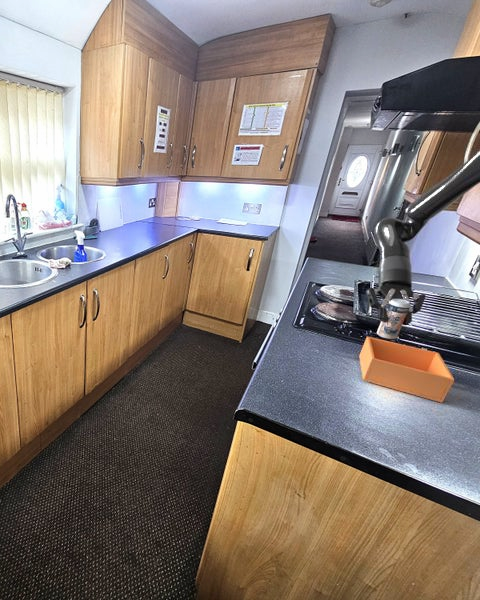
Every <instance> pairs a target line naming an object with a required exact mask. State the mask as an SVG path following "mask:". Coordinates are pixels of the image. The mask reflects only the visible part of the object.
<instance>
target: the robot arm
mask: <svg viewBox="0 0 480 600" xmlns="http://www.w3.org/2000/svg"><path fill="white" fill-rule="evenodd" d="M479 184H480V148H479V149H478V150H477V151H476V152H475V153H474V154H473V155H472V156H470V158H469V159H468V160H466V161H465V163H463V164H462V165H460V167H458V168H457V169H456V170H455V171H453V172H452V173H450V174H449V175H448V176H447V177H445V178H443V179H442V180H441V181H439V182H438V183H436V184H435V185H433V186H432V187H431V188H428V190H426V191H425V192H423V194H422V195H420V196H418V198H416V199H415V200H414V201H413V202H411V203H410V204H408V205H407V207H406V208H405V209H404V213H405V215H406V216H407V217H408V218H409V219H408V220H407V221H404V220H401V219H398V218H395V217H385V218H382V219H381V220H379V221H378V222H377V224H376V225H375V227H374V229H373V230H374V231H373V236H374V240H375V243H376V245H377V248H378V250H379V265H378V271H377V274H378V283H377V284H378V287H377V288H374V287H369V288H368V289H367V290H366V291H365V295H366V298H367V301H368V304H369V307H370V308H372V309H376V311H377V319H378V320H379V322H380V323H381V322H384V321H385V320H386V308H387V306H388V303H389V301H391V300H392V299H402V300H406V301H408V302H409V303H410V308H409V311H408V313H407V315H406V317H405V320H404V322H403V324H402V326H408V325H410V324H411V323H412V322H413V315H414V314H417V313H418V312H420V311H421V310H422V308H423V305H424V302H425V300H426V297H427V296H426V294H424V293H421V294H418V293H414V290H413V289H412V287H413V285H412V284H413V282H412V279H413V278H412V276H413V275H412V262H411V249H410V246H409V245H408V244H407V243H409V242H410V241H412V240H413V239H414V238H416V236H418V234H419V233H420V232H421V231H422V229H423V228H424V227H425V226H426V225H427V224H428V223H429V222H430V221H431V219H433V218H434V217H436V216H437V215H439V214H440V213H441V212H443V211H444V210H446V209H447V208H449V207H450V206H451V205H452V204H453V203H455V202H456V201H458V200H459V199H461V198H462V196H464V195H466V194H467V193H468V192H469V191H470V190H472V189H474V187H476V186H478V185H479ZM377 294H378V295H379V296H380V297H381V300H380V302H379V299H378V297H377ZM410 298H412V302H413V305H411V304H412V303H411V300H410Z"/></svg>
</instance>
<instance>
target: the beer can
mask: <svg viewBox="0 0 480 600" xmlns="http://www.w3.org/2000/svg"><path fill="white" fill-rule="evenodd" d="M410 305H411V304H410V303H409V302H408V301H406V300H402V299H392V300H391V301H389V303H388V304H387V306H386V307H385V308H386V320H385V321H384V322H381V321H380V324H379V326H378V328H377V331H376V334H377V335H378V336H379V337H381V338H383V339H385V340H386V339H387V340H396V339H397V338H398V336H399V333H400V331H401V329H402V327H403V322H404V320H405V317H406V315H407V313H408V311H409V308H410Z"/></svg>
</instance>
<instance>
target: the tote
mask: <svg viewBox="0 0 480 600" xmlns="http://www.w3.org/2000/svg"><path fill="white" fill-rule="evenodd" d="M358 357H359V363H360V369H361V375H362V380H363V381H365V382H368V383H372V384H375V385H379V386H382V387H387V388H389V389H393V390H396V391H399V392H404V393H407V394H410V395H413V396H417V397H421V398H424V399H427V400H431V401H434V402H438V403H441V404H443V403H444V400H445V398H446V397H447V395H448V394H449V391H450V390H451V388H452V386H453V384H454V382H455V378H454V377H453V374H452V373H451V371H450V370H449V368H448V366H447V365H446V363H445V361H444V360H443V358H442V356H441V354H440V353H439V352H436V351H432V350H428V349H424V348H419V347H416V346H411V345H406V344H401V343H397V342H393V341H389V340H386V339H385V340H384V339H380V338H376V337H373V336H366V338H365V340H364V343H363V346H362V348H361V351H360V353H359V356H358Z"/></svg>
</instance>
